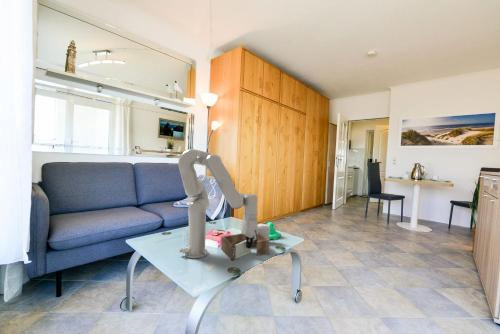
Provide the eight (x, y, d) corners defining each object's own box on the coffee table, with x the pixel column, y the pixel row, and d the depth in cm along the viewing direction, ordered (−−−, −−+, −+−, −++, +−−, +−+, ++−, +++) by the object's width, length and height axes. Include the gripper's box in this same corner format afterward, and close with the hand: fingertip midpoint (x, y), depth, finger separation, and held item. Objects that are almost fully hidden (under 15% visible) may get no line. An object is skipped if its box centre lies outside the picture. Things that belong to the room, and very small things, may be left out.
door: (236, 260, 117) (236, 246, 117) (233, 258, 119) (233, 245, 119) (252, 251, 129) (252, 239, 129) (249, 250, 130) (249, 238, 130)
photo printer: (268, 241, 148) (269, 223, 148) (269, 243, 144) (270, 225, 144) (253, 241, 147) (254, 223, 147) (254, 243, 143) (255, 225, 142)
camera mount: (268, 240, 149) (269, 226, 149) (262, 237, 156) (262, 223, 155) (281, 237, 156) (282, 223, 156) (274, 234, 162) (275, 221, 162)
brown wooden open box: (231, 260, 118) (232, 246, 117) (221, 249, 132) (221, 236, 131) (268, 253, 129) (269, 239, 129) (255, 243, 143) (255, 231, 143)
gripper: (237, 214, 127) (236, 244, 128) (253, 220, 115) (252, 254, 116) (247, 212, 132) (246, 242, 132) (263, 218, 120) (262, 250, 121)
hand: (249, 247), depth 124 cm, fingers closed
